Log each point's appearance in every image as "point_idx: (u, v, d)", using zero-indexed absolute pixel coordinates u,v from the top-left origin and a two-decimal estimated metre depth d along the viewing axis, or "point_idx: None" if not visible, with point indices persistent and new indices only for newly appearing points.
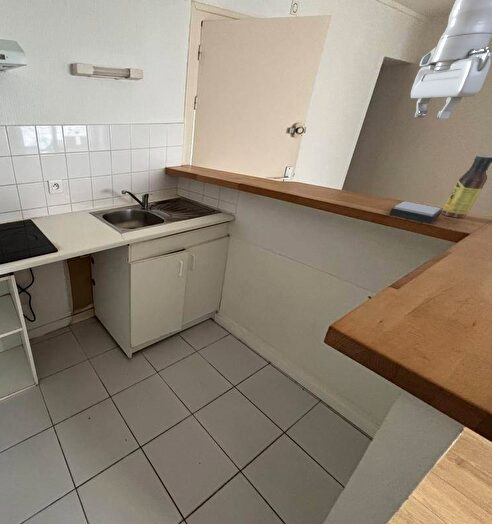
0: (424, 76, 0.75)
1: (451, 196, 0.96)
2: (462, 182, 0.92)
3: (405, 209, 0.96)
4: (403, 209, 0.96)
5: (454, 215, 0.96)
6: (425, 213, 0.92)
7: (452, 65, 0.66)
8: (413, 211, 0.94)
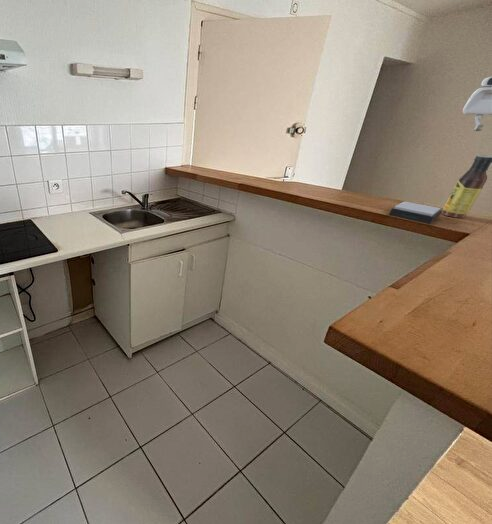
0: (484, 95, 0.84)
1: (451, 196, 0.96)
2: (462, 182, 0.92)
3: (405, 209, 0.96)
4: (403, 209, 0.96)
5: (454, 215, 0.96)
6: (425, 213, 0.92)
7: None
8: (413, 211, 0.94)
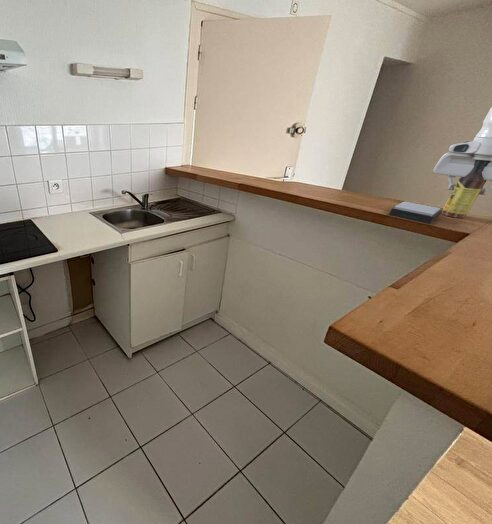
0: (451, 159, 0.93)
1: (451, 196, 0.96)
2: (462, 182, 0.92)
3: (405, 209, 0.96)
4: (403, 209, 0.96)
5: (454, 215, 0.96)
6: (425, 213, 0.92)
7: None
8: (413, 211, 0.94)
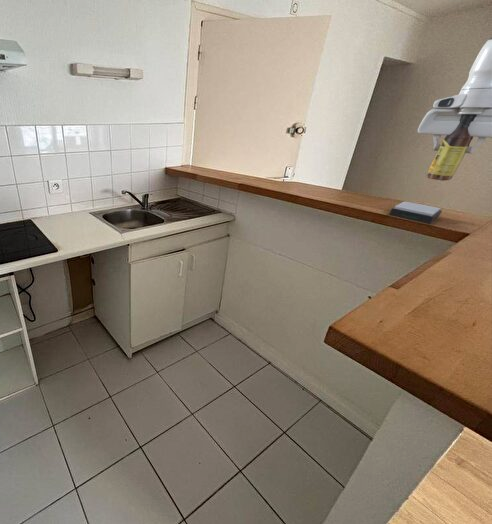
0: (436, 116, 0.87)
1: (436, 157, 0.90)
2: (447, 141, 0.86)
3: (405, 209, 0.96)
4: (403, 209, 0.96)
5: (439, 177, 0.90)
6: (425, 213, 0.92)
7: (485, 111, 0.79)
8: (413, 211, 0.94)
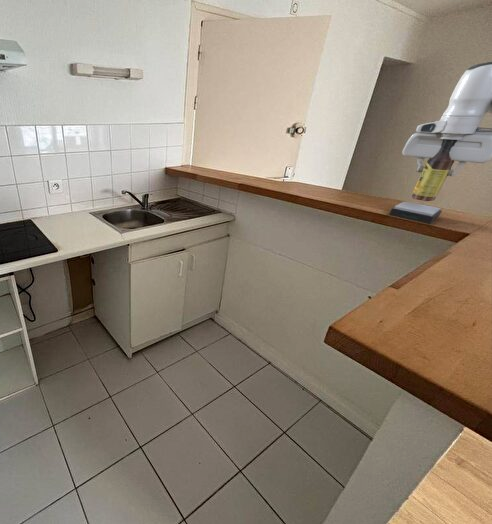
0: (419, 140, 0.90)
1: (420, 178, 0.93)
2: (430, 164, 0.89)
3: (405, 209, 0.96)
4: (403, 209, 0.96)
5: (423, 198, 0.93)
6: (425, 213, 0.92)
7: (465, 137, 0.83)
8: (413, 211, 0.94)
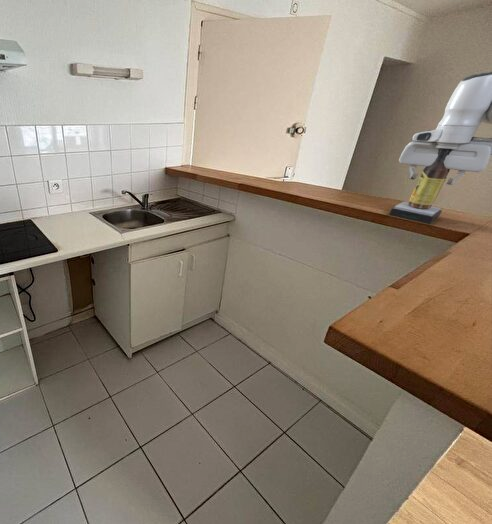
0: (416, 148, 0.92)
1: (416, 187, 0.94)
2: (426, 173, 0.91)
3: (405, 209, 0.96)
4: (403, 209, 0.96)
5: (419, 206, 0.94)
6: (425, 213, 0.92)
7: (460, 147, 0.84)
8: (413, 211, 0.94)
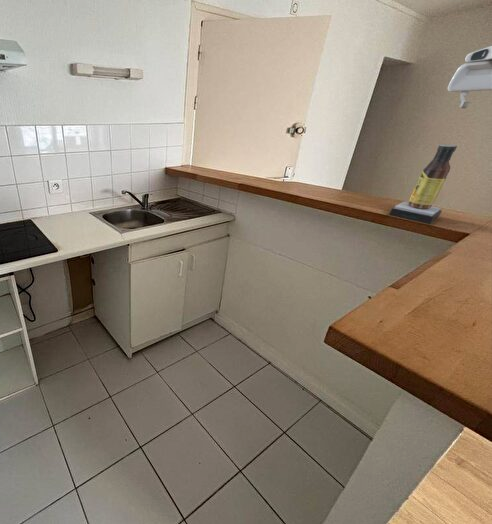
0: (468, 71, 0.83)
1: (416, 187, 0.94)
2: (426, 173, 0.91)
3: (405, 209, 0.96)
4: (403, 209, 0.96)
5: (419, 206, 0.94)
6: (425, 213, 0.92)
7: None
8: (413, 211, 0.94)
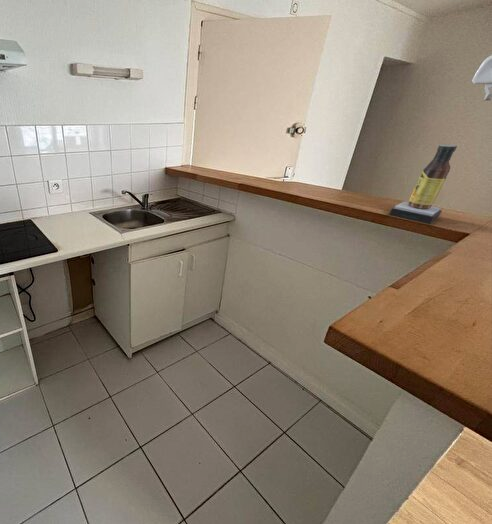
0: None
1: (416, 187, 0.94)
2: (425, 173, 0.91)
3: (405, 209, 0.96)
4: (403, 209, 0.96)
5: (419, 206, 0.94)
6: (425, 213, 0.92)
7: None
8: (413, 211, 0.94)
